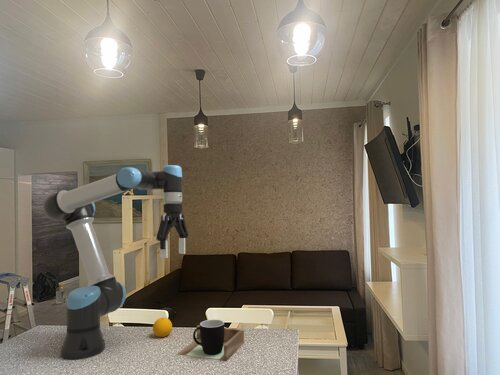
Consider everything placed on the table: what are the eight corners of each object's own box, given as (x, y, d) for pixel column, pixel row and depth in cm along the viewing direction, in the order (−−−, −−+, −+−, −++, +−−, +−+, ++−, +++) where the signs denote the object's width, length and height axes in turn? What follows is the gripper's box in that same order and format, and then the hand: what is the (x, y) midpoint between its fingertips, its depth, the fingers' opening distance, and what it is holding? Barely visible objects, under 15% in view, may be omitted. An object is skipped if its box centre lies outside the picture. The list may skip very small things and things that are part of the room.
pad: (185, 355, 124) (185, 354, 124) (200, 344, 134) (200, 343, 134) (219, 359, 119) (219, 359, 120) (231, 347, 130) (231, 347, 130)
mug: (228, 347, 129) (227, 320, 130) (220, 357, 121) (219, 327, 121) (198, 345, 132) (197, 318, 133) (188, 355, 123) (188, 326, 124)
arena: (176, 357, 125) (175, 340, 125) (198, 340, 141) (198, 325, 141) (227, 363, 118) (226, 345, 119) (244, 345, 134) (244, 329, 135)
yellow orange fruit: (168, 331, 153) (168, 313, 154) (175, 336, 147) (174, 318, 147) (150, 335, 149) (150, 317, 149) (156, 340, 142) (156, 321, 143)
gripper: (163, 202, 129) (164, 260, 127) (195, 203, 152) (196, 252, 151) (146, 202, 131) (146, 259, 130) (180, 203, 155) (181, 251, 153)
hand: (173, 255), depth 140 cm, fingers open, 13 cm apart
